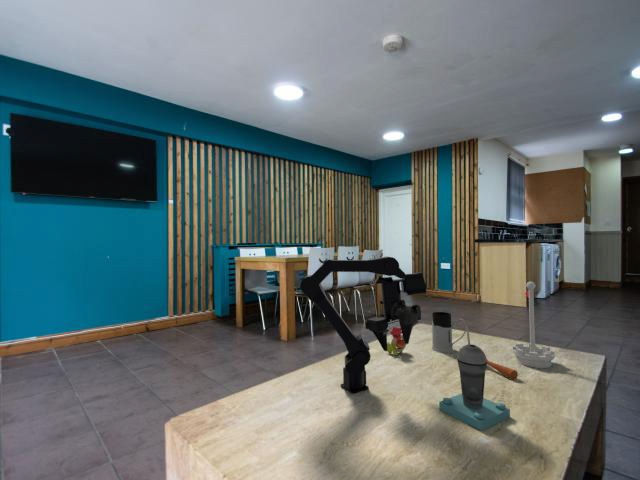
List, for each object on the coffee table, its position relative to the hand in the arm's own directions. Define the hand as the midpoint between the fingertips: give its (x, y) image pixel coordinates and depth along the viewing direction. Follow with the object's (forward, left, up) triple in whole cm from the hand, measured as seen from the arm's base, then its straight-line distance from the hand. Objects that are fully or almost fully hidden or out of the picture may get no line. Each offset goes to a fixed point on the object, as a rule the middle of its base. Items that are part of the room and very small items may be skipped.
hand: (396, 347), depth 100 cm
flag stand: (+58, -11, -13) cm, 60 cm away
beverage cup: (+6, -22, -11) cm, 25 cm away
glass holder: (+44, +15, -13) cm, 48 cm away
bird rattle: (+23, +24, -13) cm, 36 cm away
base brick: (+6, -22, -13) cm, 26 cm away
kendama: (+38, -6, -13) cm, 41 cm away
